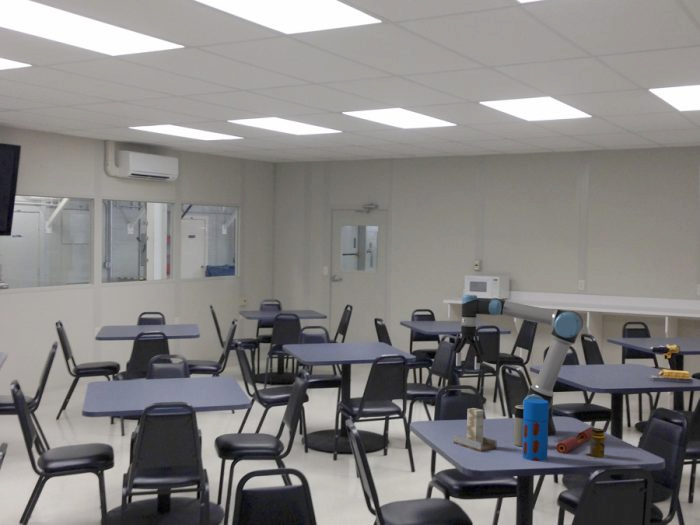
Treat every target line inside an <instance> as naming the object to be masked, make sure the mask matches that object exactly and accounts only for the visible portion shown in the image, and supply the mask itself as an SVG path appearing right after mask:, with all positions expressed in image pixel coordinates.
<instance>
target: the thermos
mask: <svg viewBox="0 0 700 525" xmlns="http://www.w3.org/2000/svg"><path fill="white" fill-rule="evenodd" d="M524 399H525V398H524ZM524 399H523V401H524V411H523V447H522V458H523V459H526V460H529V461H535V462H537V461H538V462H543V461H546V460H548V451H549V450H548V449H549V436H548V418H549V403H548V401H546V400H541V399H525V400H524Z"/></svg>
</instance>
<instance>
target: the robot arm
mask: <svg viewBox="0 0 700 525" xmlns="http://www.w3.org/2000/svg"><path fill="white" fill-rule="evenodd" d="M477 315H489V316H499V315H501V316H504V317H505V316H506V317H510V318H515V319H519V320H524V321H528V322H529V321H530V322H533V323H538V324H543V325H546V326H552V331H551V334H550V335H551V337H552V340H551V342H550V345H549V348H548V350H547V353H546V356H545V357H544V359H543V360H544V361H543V363H542V365H541V367H540V370H539V373H538V376H537V377H536V380H535V383H534V384H532V385H530V386H529V389H528V391H527V394H526V396H525V397H524V399H523V401H522V405H524V400H525V399H541V400H546V401H548V403H549V418H548V437H550V436H554V435H556V434H557V433H556V431H557V430H556V426H555V422H554V419H553V415H554V414H553V412H554V411H553V408H554V404H553V403H554V396H555V394H554V390H553V389H554V387H555V385H556V381H557V380H558V377H559V374H560V372H561V369H562V366H563V365H564V361H565V359H566V356H567V354H568V352H569V350H570V346H573V345H574V344H576V342H577V341H576V340H577V339H578V336H579V334H580V332H581V331H582V329H583V326H584V319H583V317H582V316H581V314H579V313H578V312H577V311H574V310H563V309H558V308H557V309H556V310H553V309H548V308H542V307H538V306H533V305H529V304H524V303H518V302H513V301H509V300H504V299H500V298H497V297H493V298H491V299H490V298H489V299H480V298H478V296H477V295H476V294H463V295H462V299H461V321H460V322H461V327H460V328H461V329H460V333H457V337H456V339H455V343H454V345H453V348H452V352H455V366H456V367H460V366H462V352H461V351H462V350H463V349H464V347H465V345H469V346H470V347H471V348H472V350H473V352H474V354H475V356H474V370H475V371H476V370H480V369H481V367H480V366H481V363H482V362H481V360H482V357H483V356H485V352H484V350H483V347H482V343H481V338H480V336H479V335H477V336H476V334H477V317H478V316H477Z"/></svg>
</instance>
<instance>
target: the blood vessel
mask: <svg viewBox="0 0 700 525" xmlns="http://www.w3.org/2000/svg"><path fill="white" fill-rule="evenodd" d="M594 428H595V427H593V426H591V427H588V428H586V429H584V430H582V431H579V433H577V436H576V437H572V436H570V437H568V438H566V439H565V440H563V441H560V442H558V443H557V444H556V451H557V452H558V453H559V454H567V453H568V452H570V451H572V450H573V449H575V448H578V446H581V445H582V444H584V443H586V442H588V441H591V435H592V429H594Z"/></svg>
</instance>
